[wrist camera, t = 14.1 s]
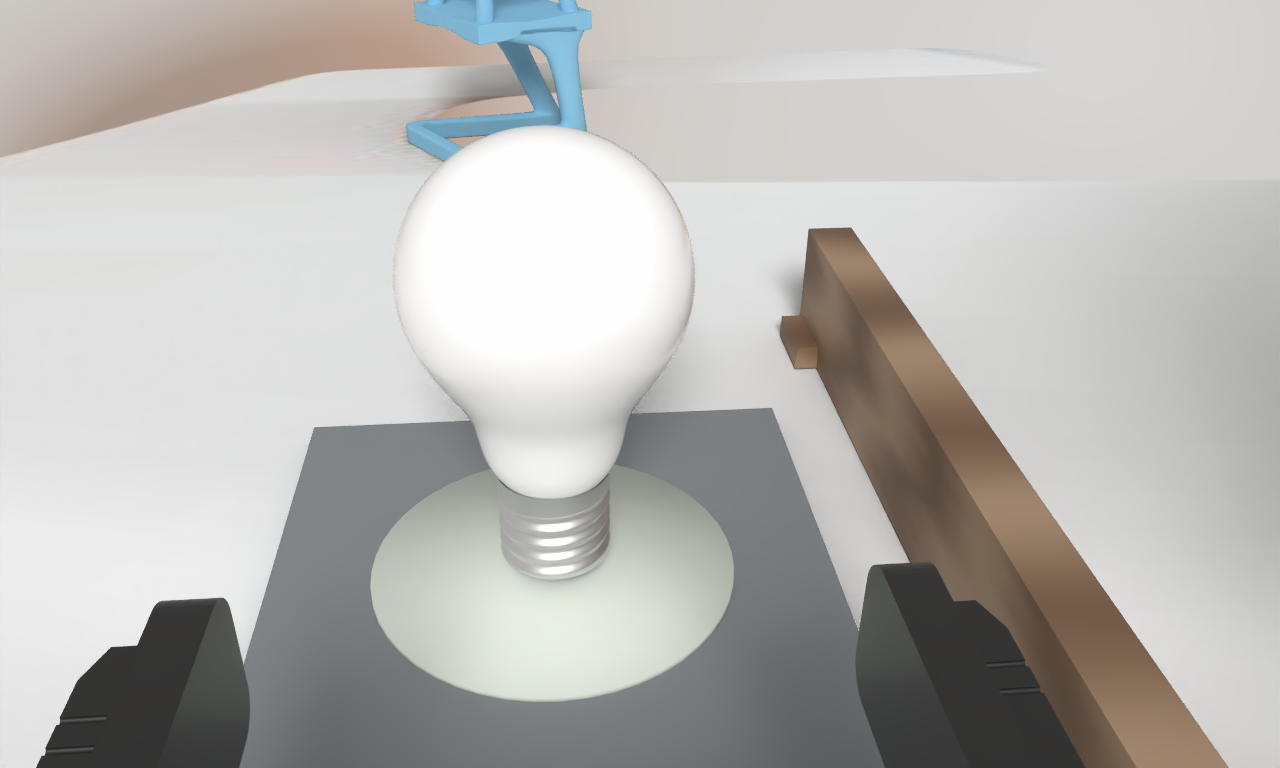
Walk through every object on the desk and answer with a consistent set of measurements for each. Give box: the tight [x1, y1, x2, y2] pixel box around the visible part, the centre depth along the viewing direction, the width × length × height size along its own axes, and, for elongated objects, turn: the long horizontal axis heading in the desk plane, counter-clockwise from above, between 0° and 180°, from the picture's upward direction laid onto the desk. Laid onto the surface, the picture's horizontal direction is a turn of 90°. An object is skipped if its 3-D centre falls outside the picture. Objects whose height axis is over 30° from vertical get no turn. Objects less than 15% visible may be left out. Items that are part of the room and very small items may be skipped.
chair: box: [406, 0, 591, 161], centre depth 54 cm, size 8×8×12 cm
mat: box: [239, 408, 885, 768], centre depth 27 cm, size 14×14×1 cm
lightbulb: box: [393, 125, 695, 580], centre depth 24 cm, size 6×6×11 cm
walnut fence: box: [780, 228, 1228, 768], centre depth 27 cm, size 26×3×4 cm, turn 6°
